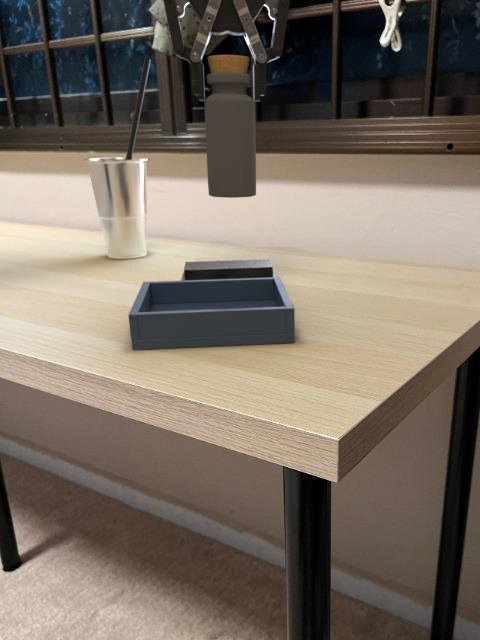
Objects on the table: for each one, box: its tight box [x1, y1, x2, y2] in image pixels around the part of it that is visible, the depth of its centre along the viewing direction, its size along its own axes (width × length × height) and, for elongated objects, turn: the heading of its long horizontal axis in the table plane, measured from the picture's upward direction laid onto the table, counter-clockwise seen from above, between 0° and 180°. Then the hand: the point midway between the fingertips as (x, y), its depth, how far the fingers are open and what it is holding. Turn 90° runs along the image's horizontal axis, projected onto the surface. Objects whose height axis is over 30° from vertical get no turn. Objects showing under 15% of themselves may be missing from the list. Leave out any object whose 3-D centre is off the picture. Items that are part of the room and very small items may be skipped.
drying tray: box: [128, 276, 296, 351], centre depth 64 cm, size 16×14×4 cm
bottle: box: [204, 54, 257, 199], centre depth 72 cm, size 6×6×15 cm
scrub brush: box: [180, 258, 277, 281], centre depth 78 cm, size 12×6×4 cm, turn 97°
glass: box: [83, 57, 151, 260], centre depth 97 cm, size 11×11×30 cm
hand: (229, 100), depth 70 cm, fingers closed on bottle, 5 cm apart
